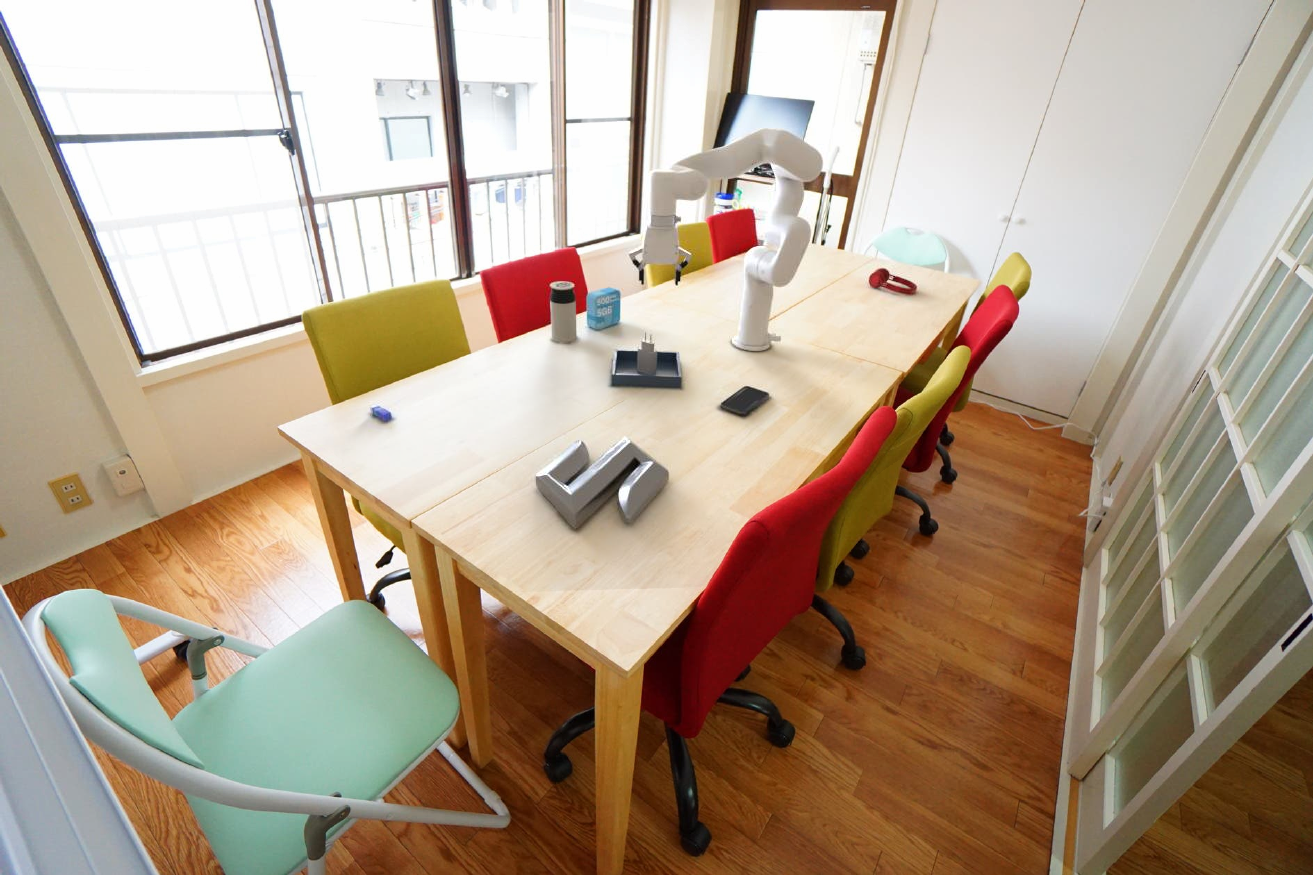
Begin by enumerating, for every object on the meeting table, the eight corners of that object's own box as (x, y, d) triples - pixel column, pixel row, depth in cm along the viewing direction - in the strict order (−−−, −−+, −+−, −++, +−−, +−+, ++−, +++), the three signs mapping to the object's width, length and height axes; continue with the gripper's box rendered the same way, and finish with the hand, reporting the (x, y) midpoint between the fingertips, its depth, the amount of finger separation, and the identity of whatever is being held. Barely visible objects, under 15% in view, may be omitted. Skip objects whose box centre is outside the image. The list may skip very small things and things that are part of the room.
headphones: (864, 286, 255) (908, 302, 248) (870, 271, 251) (915, 286, 244) (872, 279, 266) (915, 294, 259) (878, 264, 262) (922, 279, 255)
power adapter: (642, 367, 172) (643, 329, 166) (657, 372, 170) (659, 334, 163) (636, 371, 170) (637, 332, 164) (651, 376, 167) (652, 337, 161)
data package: (595, 331, 197) (595, 296, 190) (586, 327, 199) (585, 293, 193) (620, 322, 204) (620, 289, 198) (611, 319, 207) (611, 286, 201)
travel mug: (581, 337, 191) (579, 283, 182) (568, 345, 185) (566, 290, 176) (560, 332, 194) (558, 279, 184) (547, 340, 188) (544, 285, 178)
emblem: (677, 507, 109) (527, 509, 106) (675, 529, 112) (529, 531, 109) (663, 430, 132) (540, 430, 130) (662, 450, 135) (542, 450, 133)
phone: (719, 404, 153) (745, 385, 164) (718, 408, 154) (745, 388, 164) (745, 413, 150) (771, 393, 160) (744, 417, 150) (770, 397, 161)
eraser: (378, 411, 144) (377, 403, 143) (392, 419, 141) (390, 411, 140) (371, 413, 143) (369, 406, 142) (384, 422, 140) (383, 414, 139)
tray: (678, 362, 178) (678, 351, 176) (680, 388, 163) (681, 377, 161) (614, 360, 177) (614, 349, 175) (611, 386, 162) (611, 374, 160)
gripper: (692, 218, 158) (688, 280, 167) (629, 216, 157) (629, 279, 167) (694, 224, 152) (690, 288, 161) (629, 223, 151) (628, 287, 160)
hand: (659, 283), depth 164 cm, fingers open, 9 cm apart
